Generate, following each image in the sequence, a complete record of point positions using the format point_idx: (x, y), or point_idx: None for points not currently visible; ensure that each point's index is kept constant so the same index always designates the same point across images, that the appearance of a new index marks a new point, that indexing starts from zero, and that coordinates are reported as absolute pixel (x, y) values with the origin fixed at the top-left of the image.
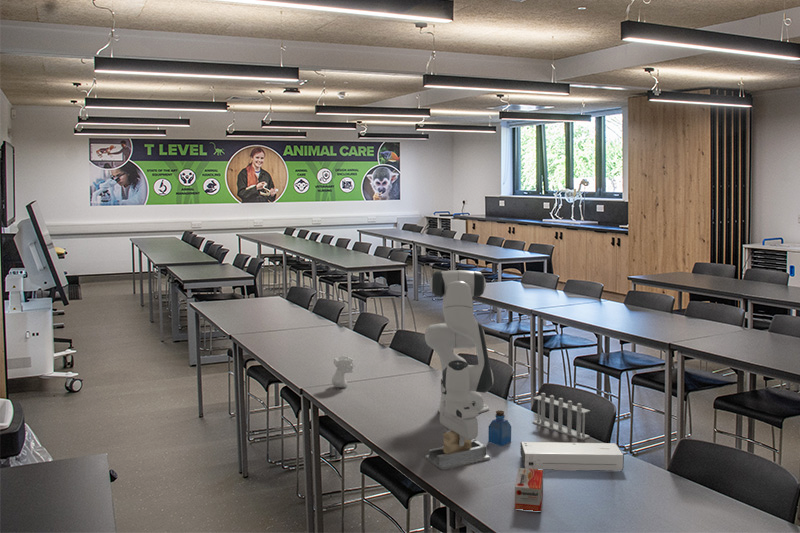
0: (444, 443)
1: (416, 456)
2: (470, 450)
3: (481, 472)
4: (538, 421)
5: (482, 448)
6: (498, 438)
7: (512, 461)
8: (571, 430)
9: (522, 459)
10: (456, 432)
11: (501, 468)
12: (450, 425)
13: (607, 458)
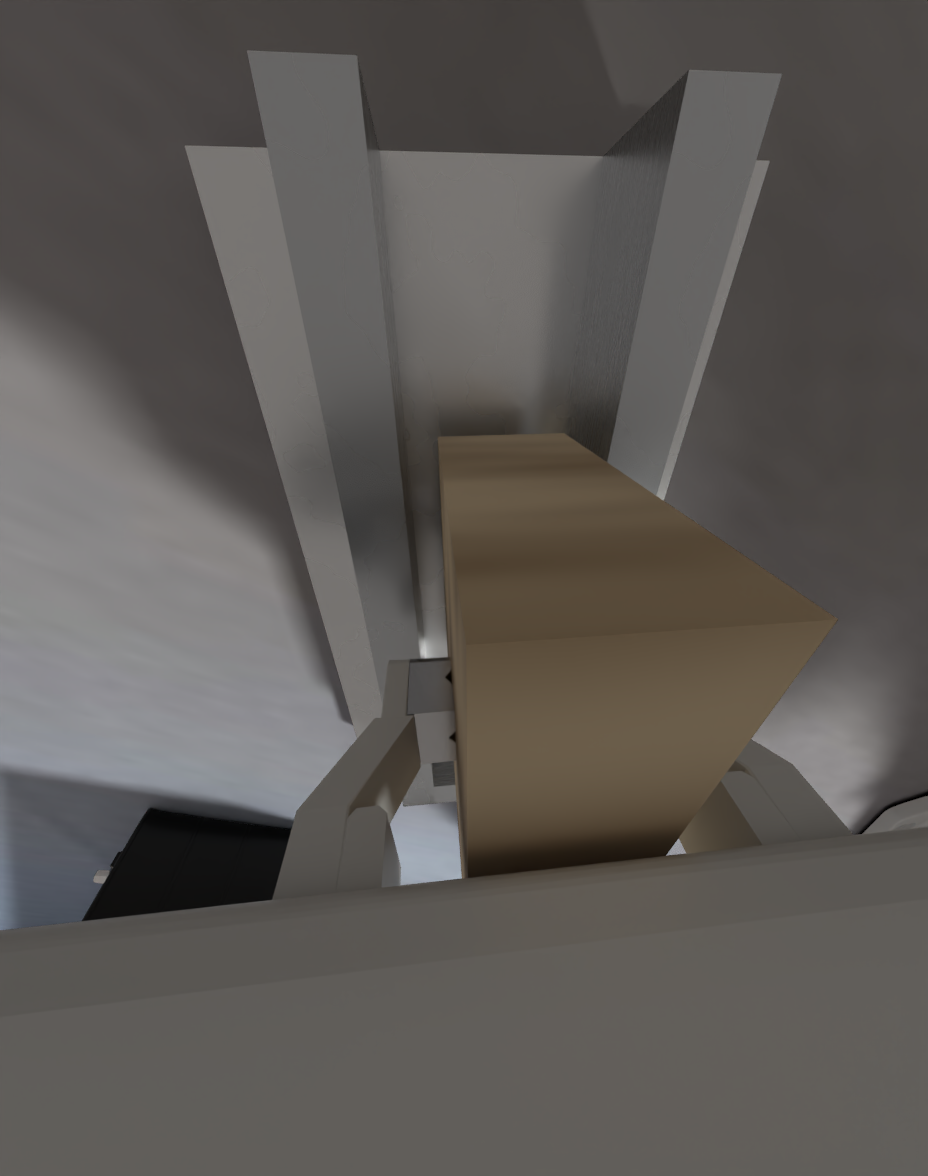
0: (588, 477)
1: (908, 40)
2: (382, 699)
3: (102, 596)
4: None
5: None
6: None
7: (287, 796)
8: None
9: (252, 840)
10: (429, 922)
11: (182, 730)
12: (904, 1063)
13: None
